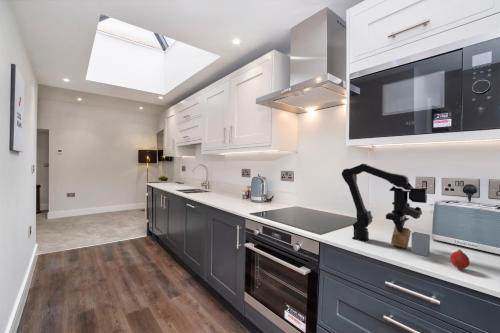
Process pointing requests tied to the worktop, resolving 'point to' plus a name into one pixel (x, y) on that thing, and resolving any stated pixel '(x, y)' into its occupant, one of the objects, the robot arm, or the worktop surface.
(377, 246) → the worktop surface
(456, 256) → the onion
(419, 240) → the grey block
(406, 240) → the walnut block
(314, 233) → the worktop surface
